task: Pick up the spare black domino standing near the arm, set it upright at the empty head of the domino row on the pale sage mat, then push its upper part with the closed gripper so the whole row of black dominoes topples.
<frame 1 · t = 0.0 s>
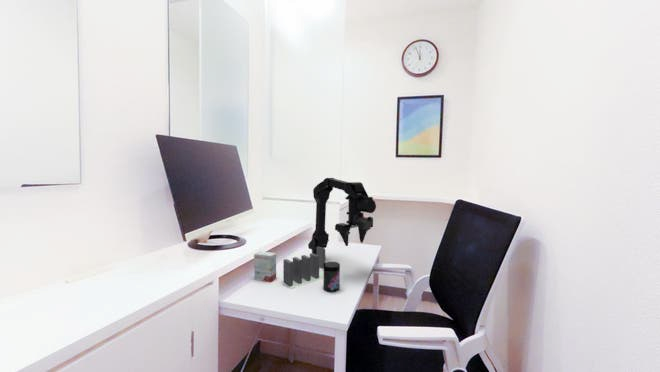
hand: (354, 244, 130), 15 cm above the table, fingers open, 9 cm apart
domino 2: (314, 276, 128), resting on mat
supplement container: (331, 289, 116), on the table
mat: (309, 278, 127), on the table
ink box: (265, 279, 125), on the table
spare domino: (320, 267, 140), on the table
domino 3: (306, 279, 125), resting on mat
domino 5: (288, 284, 120), resting on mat
domino 4: (297, 281, 123), resting on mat
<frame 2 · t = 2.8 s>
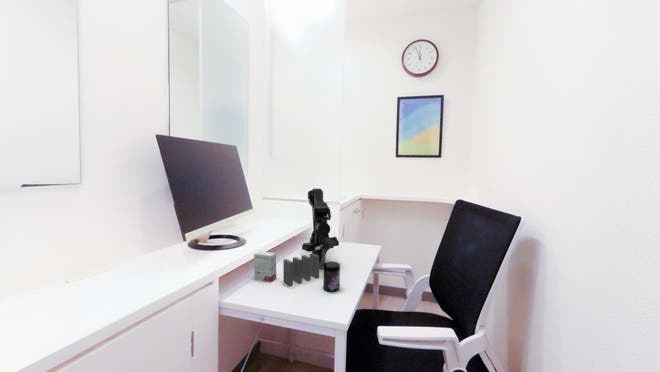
hand: (320, 261, 140), 3 cm above the table, fingers closed on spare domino, 2 cm apart
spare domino: (320, 267, 140), on the table, touching gripper
everything else where it was.
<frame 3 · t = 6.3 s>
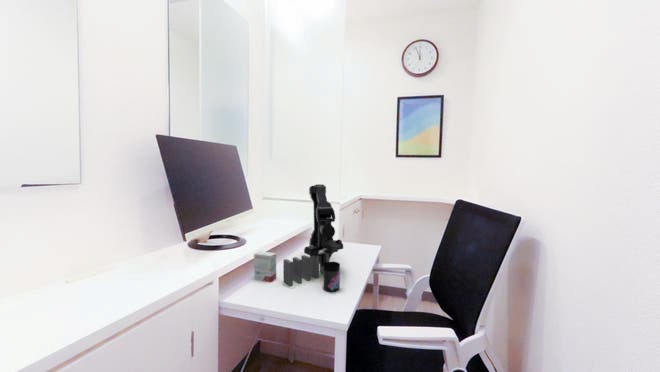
hand: (324, 266, 131), 4 cm above the table, fingers closed
domino 2: (314, 276, 128), resting on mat, touching gripper
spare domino: (324, 273, 132), resting on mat
everything else where it was.
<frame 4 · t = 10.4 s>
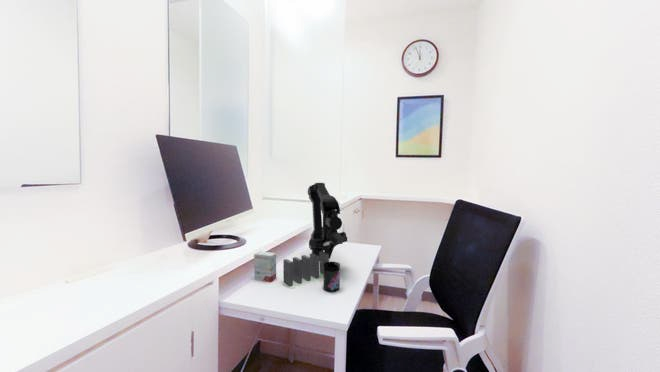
hand: (328, 258, 133), 7 cm above the table, fingers closed
domino 2: (314, 276, 128), resting on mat
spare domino: (324, 273, 132), resting on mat, touching gripper
everything else where it was.
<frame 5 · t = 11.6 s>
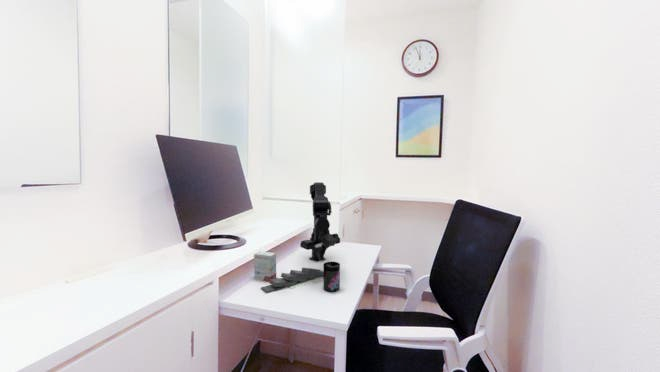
hand: (320, 260, 130), 7 cm above the table, fingers closed
domino 2: (311, 275, 127), point 1 cm above the table, tilted 71°, touching domino 3, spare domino
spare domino: (322, 272, 131), point 1 cm above the table, tilted 72°, touching domino 2
domino 3: (303, 278, 124), point 1 cm above the table, tilted 71°, touching domino 2, domino 4, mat
domino 5: (285, 285, 119), on the table, tilted 90°, touching domino 4
domino 4: (293, 280, 121), point 1 cm above the table, tilted 80°, touching domino 3, domino 5, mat
everything else where it was.
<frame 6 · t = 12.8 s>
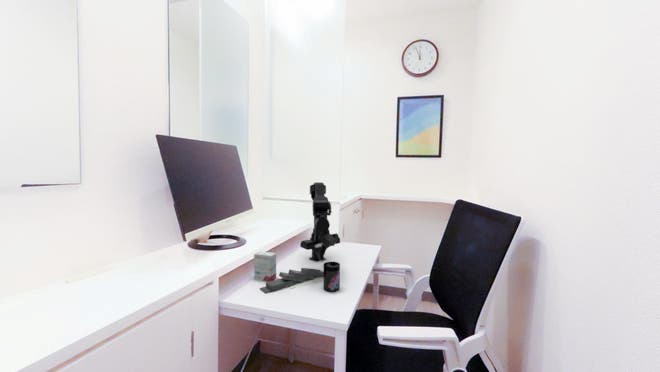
hand: (320, 260, 130), 7 cm above the table, fingers closed
domino 2: (310, 276, 127), point 1 cm above the table, tilted 69°, touching domino 3, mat, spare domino
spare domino: (322, 272, 131), point 1 cm above the table, tilted 73°, touching domino 2, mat
domino 3: (301, 278, 124), point 1 cm above the table, tilted 70°, touching domino 2, domino 4
domino 4: (290, 280, 120), point 2 cm above the table, tilted 88°, touching domino 3, domino 5
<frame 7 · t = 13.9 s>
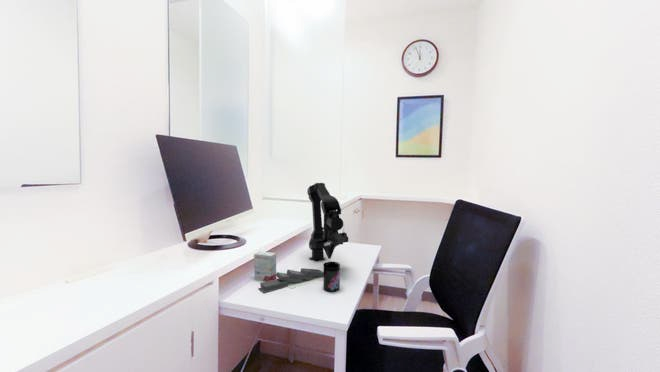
hand: (329, 258, 133), 7 cm above the table, fingers closed
domino 2: (309, 276, 126), point 1 cm above the table, tilted 70°, touching domino 3, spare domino
domino 3: (299, 278, 124), point 1 cm above the table, tilted 72°, touching domino 2, domino 4, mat
domino 4: (285, 281, 120), point 2 cm above the table, tilted 90°, touching domino 3, domino 5
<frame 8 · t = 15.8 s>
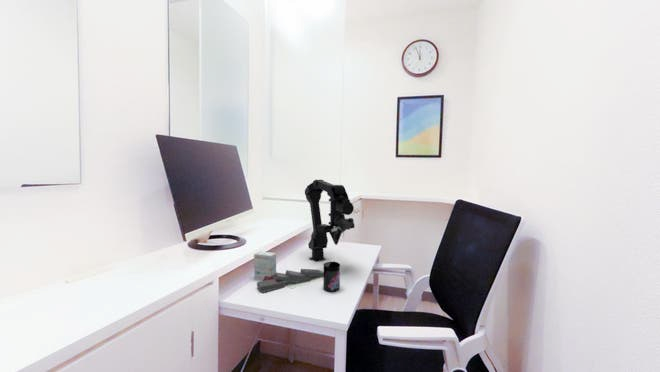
hand: (336, 244, 135), 13 cm above the table, fingers closed
domino 2: (308, 277, 125), point 1 cm above the table, tilted 71°, touching domino 3, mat, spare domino
domino 3: (298, 279, 123), point 1 cm above the table, tilted 73°, touching domino 2, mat
domino 4: (282, 281, 119), point 2 cm above the table, tilted 89°, touching domino 5
at the end: domino 5 tilted 90°; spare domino tilted 75°; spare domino inside the target area (2.3 cm from its centre), point 1.1 cm above the table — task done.
